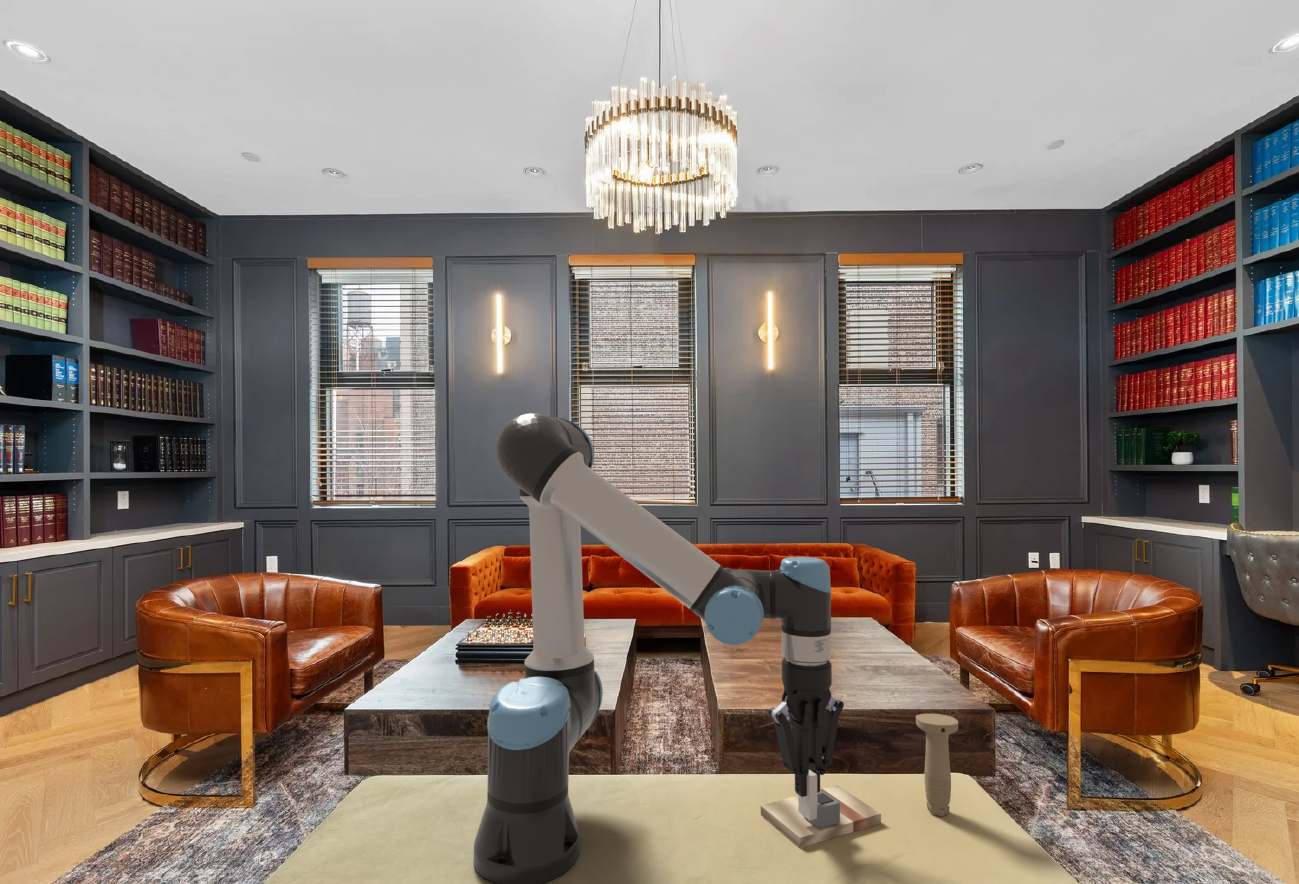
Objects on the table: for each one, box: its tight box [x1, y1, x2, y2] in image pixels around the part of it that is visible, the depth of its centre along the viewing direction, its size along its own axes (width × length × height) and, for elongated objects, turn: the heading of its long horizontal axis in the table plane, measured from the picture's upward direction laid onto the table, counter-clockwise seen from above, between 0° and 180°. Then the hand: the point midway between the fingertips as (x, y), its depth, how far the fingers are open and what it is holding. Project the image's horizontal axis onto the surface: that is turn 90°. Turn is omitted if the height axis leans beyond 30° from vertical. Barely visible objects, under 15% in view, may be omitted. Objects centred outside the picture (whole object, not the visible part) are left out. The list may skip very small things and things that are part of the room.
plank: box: [760, 784, 882, 849], centre depth 101 cm, size 16×10×2 cm, turn 115°
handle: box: [915, 713, 959, 818], centre depth 104 cm, size 5×6×15 cm
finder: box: [802, 791, 840, 829], centre depth 98 cm, size 4×4×3 cm
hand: (807, 814), depth 97 cm, fingers closed
